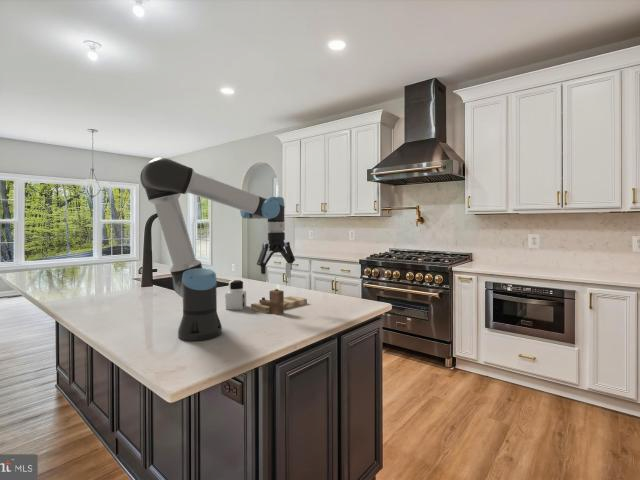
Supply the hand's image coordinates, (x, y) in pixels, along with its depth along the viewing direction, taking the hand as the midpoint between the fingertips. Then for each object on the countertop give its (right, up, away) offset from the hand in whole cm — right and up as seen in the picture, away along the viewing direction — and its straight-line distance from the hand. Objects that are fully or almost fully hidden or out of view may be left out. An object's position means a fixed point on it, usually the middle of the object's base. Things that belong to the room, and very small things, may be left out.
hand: (277, 279), depth 161 cm
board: (0, -15, +13) cm, 20 cm away
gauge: (-3, -15, +4) cm, 16 cm away
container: (-21, -15, +10) cm, 27 cm away
